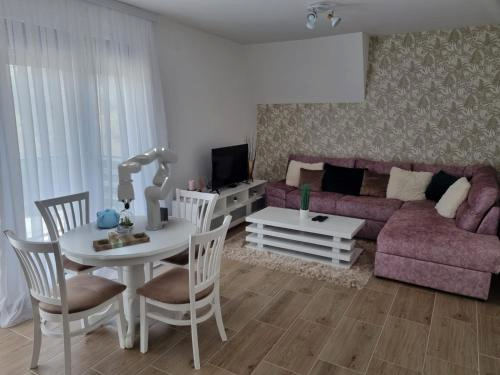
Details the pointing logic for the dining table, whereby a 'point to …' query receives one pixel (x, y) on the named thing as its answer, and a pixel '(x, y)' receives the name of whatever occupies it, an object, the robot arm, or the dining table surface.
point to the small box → (164, 214)
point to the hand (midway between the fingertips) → (127, 209)
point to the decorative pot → (107, 218)
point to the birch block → (113, 236)
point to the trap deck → (121, 241)
